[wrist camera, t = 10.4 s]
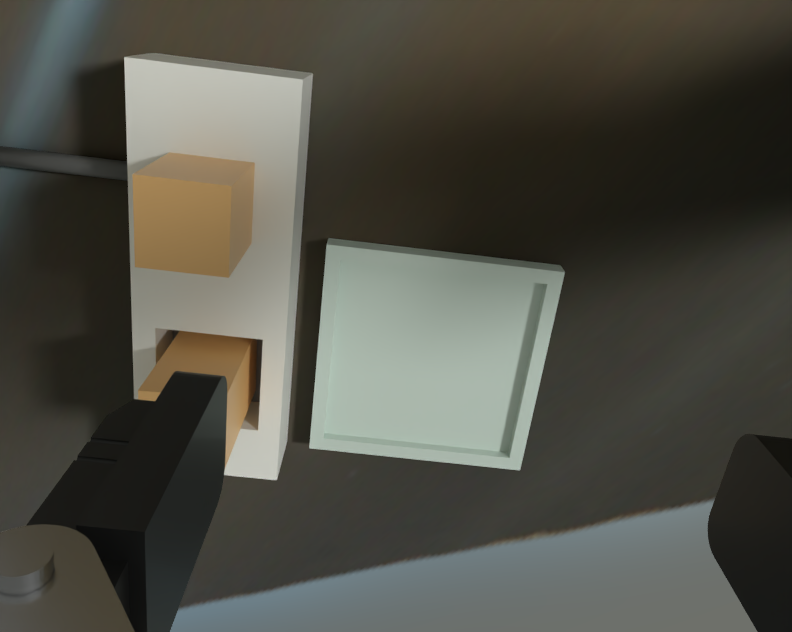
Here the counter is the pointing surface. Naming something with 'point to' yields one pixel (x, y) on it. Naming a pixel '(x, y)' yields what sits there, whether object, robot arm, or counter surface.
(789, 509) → the robot arm
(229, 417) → the plug
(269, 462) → the power strip
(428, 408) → the tray
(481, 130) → the counter surface
